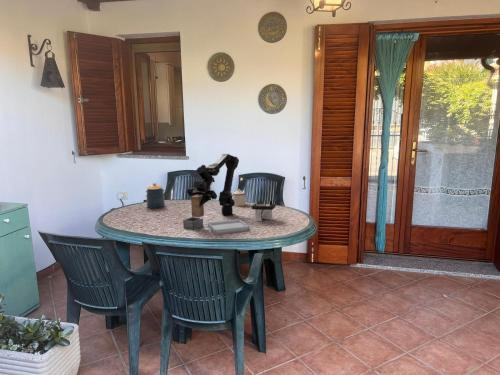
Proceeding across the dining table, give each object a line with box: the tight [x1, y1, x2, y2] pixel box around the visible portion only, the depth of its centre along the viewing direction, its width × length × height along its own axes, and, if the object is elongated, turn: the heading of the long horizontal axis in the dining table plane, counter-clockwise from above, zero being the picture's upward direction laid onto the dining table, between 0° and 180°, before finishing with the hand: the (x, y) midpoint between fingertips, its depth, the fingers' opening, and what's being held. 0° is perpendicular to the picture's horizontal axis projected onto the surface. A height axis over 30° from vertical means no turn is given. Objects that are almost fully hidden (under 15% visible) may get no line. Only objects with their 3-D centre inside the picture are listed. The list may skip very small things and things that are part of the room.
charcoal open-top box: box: [182, 216, 204, 230], centre depth 227 cm, size 8×8×4 cm
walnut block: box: [190, 195, 205, 218], centre depth 224 cm, size 5×5×12 cm
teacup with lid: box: [232, 188, 246, 207], centre depth 282 cm, size 12×9×12 cm
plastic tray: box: [207, 218, 250, 236], centre depth 222 cm, size 20×17×2 cm
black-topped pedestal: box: [251, 199, 277, 222], centre depth 239 cm, size 28×26×13 cm
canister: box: [145, 182, 166, 209], centre depth 280 cm, size 13×13×18 cm
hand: (196, 205), depth 222 cm, fingers closed on walnut block, 5 cm apart
